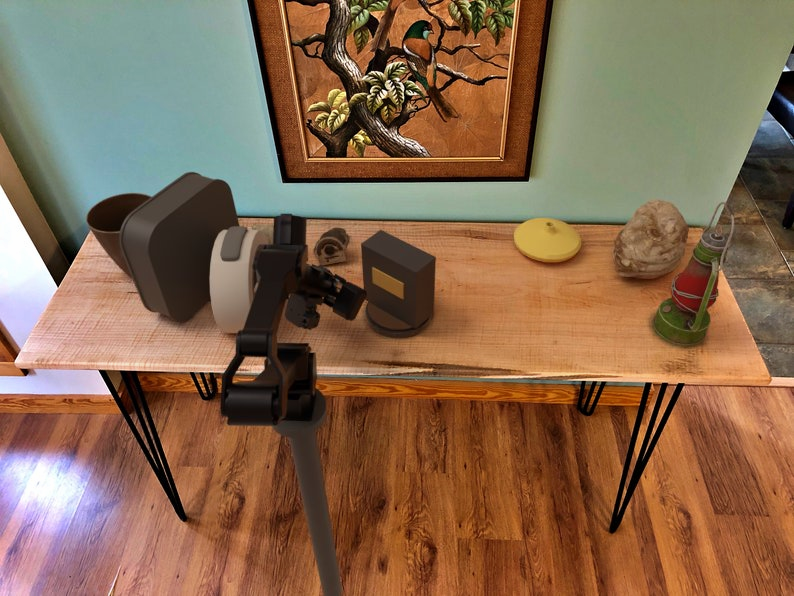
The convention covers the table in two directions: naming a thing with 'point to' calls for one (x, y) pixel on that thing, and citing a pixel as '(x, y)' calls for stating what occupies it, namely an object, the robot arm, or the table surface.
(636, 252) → the rock
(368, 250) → the dark upright block
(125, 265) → the flower pot
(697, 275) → the lantern
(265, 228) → the cuneiform tablet
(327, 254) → the mechanical counter
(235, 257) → the alarm clock
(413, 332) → the turntable base
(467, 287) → the table surface
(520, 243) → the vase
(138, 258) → the speaker
